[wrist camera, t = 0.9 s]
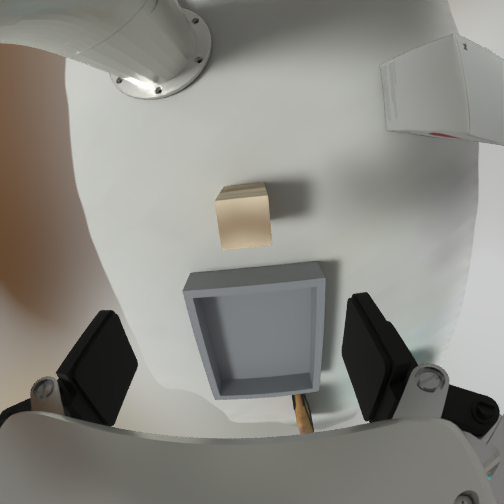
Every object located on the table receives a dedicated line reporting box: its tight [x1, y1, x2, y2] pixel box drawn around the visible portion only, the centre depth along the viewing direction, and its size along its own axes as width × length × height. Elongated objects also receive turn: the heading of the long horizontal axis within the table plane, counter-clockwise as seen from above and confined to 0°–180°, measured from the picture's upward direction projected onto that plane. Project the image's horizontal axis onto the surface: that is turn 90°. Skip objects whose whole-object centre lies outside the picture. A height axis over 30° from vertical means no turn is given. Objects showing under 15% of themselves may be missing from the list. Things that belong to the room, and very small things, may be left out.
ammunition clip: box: [292, 393, 314, 434], centre depth 39 cm, size 11×2×12 cm, turn 18°
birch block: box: [215, 182, 272, 250], centre depth 27 cm, size 4×4×8 cm
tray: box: [183, 261, 326, 400], centre depth 36 cm, size 20×16×4 cm
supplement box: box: [380, 33, 504, 146], centre depth 19 cm, size 9×9×15 cm
